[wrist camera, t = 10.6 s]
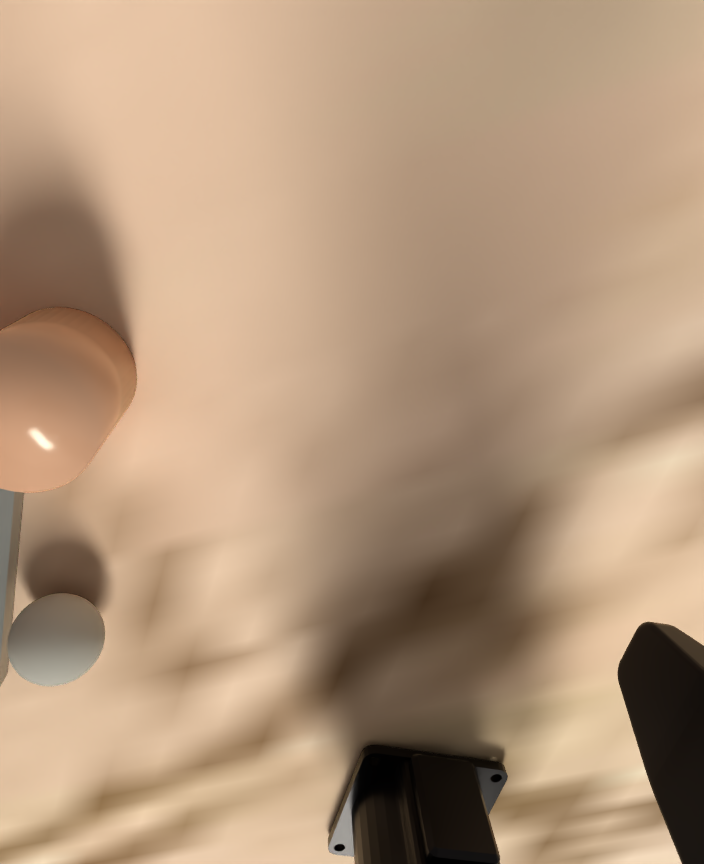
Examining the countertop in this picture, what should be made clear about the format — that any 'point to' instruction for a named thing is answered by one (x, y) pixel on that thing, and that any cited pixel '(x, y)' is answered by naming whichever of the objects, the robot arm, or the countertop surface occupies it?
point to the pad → (8, 566)
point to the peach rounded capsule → (59, 395)
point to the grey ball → (56, 639)
